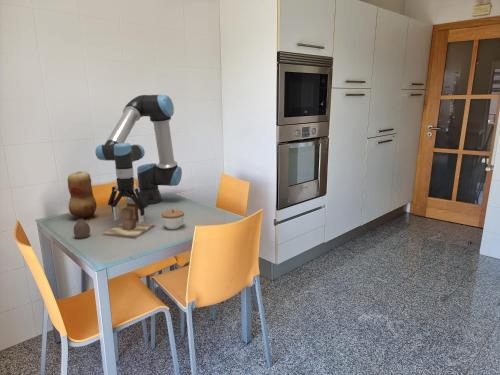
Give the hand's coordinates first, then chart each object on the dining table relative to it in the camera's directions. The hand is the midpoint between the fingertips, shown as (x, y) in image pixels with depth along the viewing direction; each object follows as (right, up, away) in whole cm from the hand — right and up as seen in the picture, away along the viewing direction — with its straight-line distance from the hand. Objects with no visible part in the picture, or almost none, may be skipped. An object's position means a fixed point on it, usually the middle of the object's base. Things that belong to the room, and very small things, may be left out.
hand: (128, 220), depth 171 cm
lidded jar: (+20, -4, +6) cm, 21 cm away
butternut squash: (-31, 0, +22) cm, 38 cm away
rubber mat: (0, -5, +1) cm, 5 cm away
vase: (-19, -7, -6) cm, 21 cm away
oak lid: (0, -5, +1) cm, 5 cm away
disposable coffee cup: (-2, -1, +18) cm, 18 cm away
